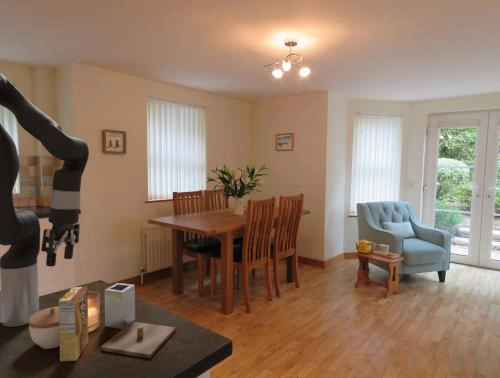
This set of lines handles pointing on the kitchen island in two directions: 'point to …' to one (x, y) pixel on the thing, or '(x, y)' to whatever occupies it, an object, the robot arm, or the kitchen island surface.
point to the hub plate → (139, 339)
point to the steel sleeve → (119, 305)
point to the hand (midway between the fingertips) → (59, 262)
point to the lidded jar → (45, 328)
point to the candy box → (73, 323)
